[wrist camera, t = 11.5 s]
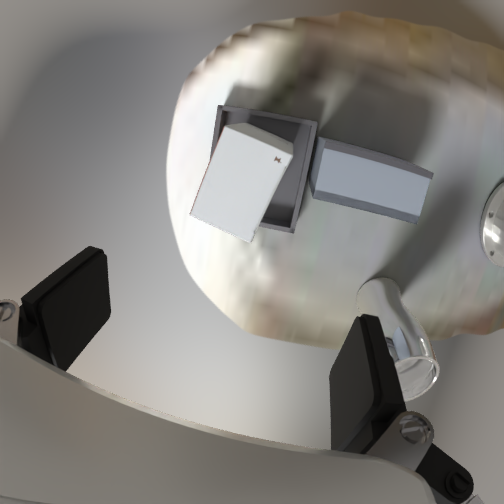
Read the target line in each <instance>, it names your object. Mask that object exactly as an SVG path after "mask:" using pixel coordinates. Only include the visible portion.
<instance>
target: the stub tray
mask: <svg viewBox="0 0 504 504" xmlns="http://www.w3.org/2000/svg"><path fill="white" fill-rule="evenodd" d="M239 123H249V124H251V125H254V126H256V127H258V128H261V129H263V130H265V131H267V132H270V133H272V134H274V135H276V136H279V137H281V138H283V139H285V140H287V141H289V142H292V143H293V158H292V160H291V161H290V163H289V165H288V167H287V169H286V171H285V173H284V174H283V176H282V178H281V180H280V182H279V184H278V186H277V188H276V190H275V193H274V195H273V197H272V199H271V201H270V203H269V205H268V207H267V209H266V211H265V213H264V216H263V218H262V220H261V222H260V224H259V226H260V227H265V228H269V229H274V230H279V231H284V232H289V233H294V231H295V227H296V222H297V218H298V213H299V209H300V205H301V200H302V196H303V191H304V186H305V182H306V177H307V172H308V168H309V163H310V158H311V153H312V148H313V144H314V139H315V134H316V129H317V124H318V122H316V121H311V120H306V119H302V118H297V117H292V116H287V115H281V114H276V113H270V112H264V111H258V110H252V109H245V108H238V107H231V106H223V105H218V109H217V115H216V121H215V128H214V135H213V141H212V148H211V156H210V159H211V157H212V154H213V152H214V150H215V147H216V145H217V142H218V140H219V137H220V135H221V133H222V130H223V128H224V126H226V125H232V124H239Z"/></svg>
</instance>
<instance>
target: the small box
mask: <svg viewBox="0 0 504 504" xmlns="http://www.w3.org/2000/svg"><path fill="white" fill-rule="evenodd" d="M292 158H293V143H292V142H289V141H287V140H285V139H283V138H281V137H279V136H276V135H274V134H272V133H270V132H267V131H265V130H263V129H261V128H258V127H256V126H254V125H251V124H249V123H239V124H232V125H226V126H224V128H223V130H222V133H221V135H220V137H219V140H218V142H217V145H216V147H215V150H214V152H213V154H212V157H211V159H210V162H209V164H208V167H207V170H206V172H205V175H204V177H203V180H202V183H201V185H200V188H199V190H198V193H197V196H196V198H195V201H194V204H193V207H192V209H191V212H190V215H191V216H193V217H195V218H197V219H199V220H201V221H203V222H206V223H208V224H210V225H212V226H214V227H216V228H218V229H221V230H223V231H225V232H227V233H229V234H231V235H233V236H236V237H238V238H240V239H242V240H244V241H246V242H248V243H251V242H252V241H253V238H254V236H255V233H256V231H257V228H258V226H259V224H260V222H261V220H262V218H263V216H264V213H265V211H266V209H267V207H268V205H269V203H270V201H271V199H272V197H273V195H274V193H275V190H276V188H277V186H278V184H279V182H280V180H281V178H282V176H283V174H284V173H285V171H286V169H287V167H288V165H289V163H290V161H291V160H292Z"/></svg>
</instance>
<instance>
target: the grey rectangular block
mask: <svg viewBox="0 0 504 504" xmlns="http://www.w3.org/2000/svg"><path fill="white" fill-rule="evenodd" d="M432 177H433V173H432V172H430V171H428V170H426V169H424V168H421V167H419V166H417V165H414V164H412V163H410V162H407V161H405V160H402V159H399V158H396V157H393V156H390V155H386V154H383V153H380V152H376V151H373V150H369V149H366V148H362V147H359V146H355V145H351V144H347V143H343V142H339V141H335V140H331V139H327V138H323V137H319V136H318V138H317V143H316V148H315V153H314V158H313V163H312V167H311V172H310V177H309V184H310V188H311V192H312V196H313V198H314V199H318V200H322V201H327V202H331V203H335V204H340V205H344V206H348V207H352V208H356V209H360V210H364V211H368V212H372V213H376V214H380V215H384V216H388V217H391V218H395V219H399V220H403V221H406V222H410V223H413V224H417V222H418V219H419V216H420V213H421V210H422V207H423V203H424V200H425V197H426V193H427V190H428V186H429V183H430V179H432Z"/></svg>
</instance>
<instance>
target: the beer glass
mask: <svg viewBox="0 0 504 504" xmlns="http://www.w3.org/2000/svg"><path fill="white" fill-rule="evenodd" d="M356 304H357V307H358V309H359V311H360V313H361V314H369V315H374V316H378V317H379V319H380V322H381V325H382V329H383V332H384V335H385V339H386V342H387V346H388V349H389V353H390V355H391V356H392V357H393V359H394V363H395V367H396V370H397V374H398V378H399V382H400V385H401V389H402V393H403V397H404V401H405V402H406V401H409V400H412V399H415V398H417V397H419V396H420V395H422V394H424V393H425V392H426V391H427V390H429V389H430V388H431V386H432V385H433V384H434V383H435V382H436V380H437V378H438V375H439V365H438V363H437V360H436V357H435V354H434V351H433V348H432V345H431V343H430V340H429V338H428V336H427V334H426V332H425V330H424V328H423V327H422V325H421V324H420V323H419V321H418V320H417V319H416V317H415V316H414V315H413V314H412V313H411V312H410V311H409V309H408V308H407V307H406V306H405V305H404V303H403V301H402V298H401V292H400V289H399V287H398V285H397V284H396V282H394V281H393V280H392V279H389V278H386V277H378V278H374V279H371V280H369V281H368V282H366V283H365V284H364V285H363V286H362V287H361V288H360V290H359V291H358V294H357V297H356Z"/></svg>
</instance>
